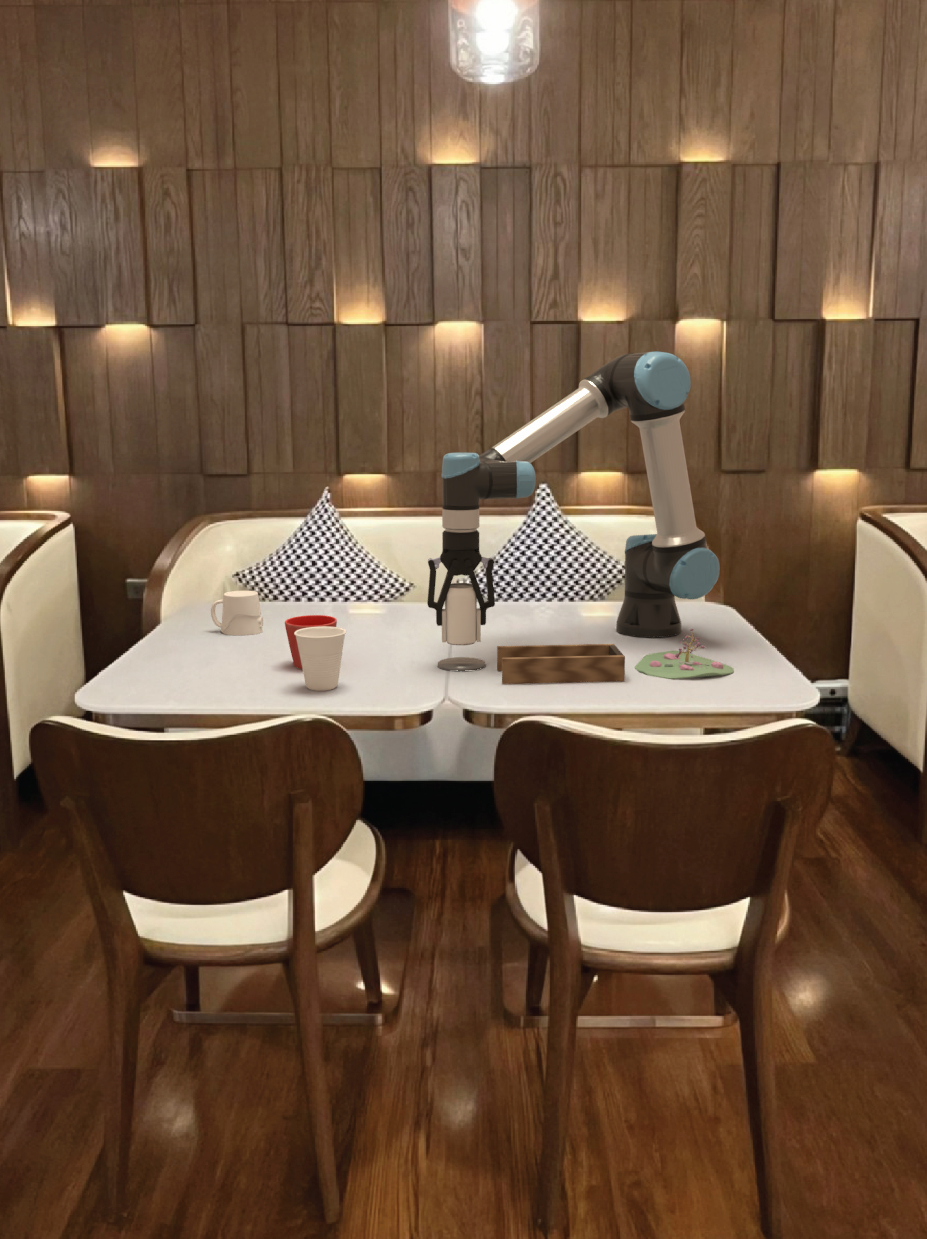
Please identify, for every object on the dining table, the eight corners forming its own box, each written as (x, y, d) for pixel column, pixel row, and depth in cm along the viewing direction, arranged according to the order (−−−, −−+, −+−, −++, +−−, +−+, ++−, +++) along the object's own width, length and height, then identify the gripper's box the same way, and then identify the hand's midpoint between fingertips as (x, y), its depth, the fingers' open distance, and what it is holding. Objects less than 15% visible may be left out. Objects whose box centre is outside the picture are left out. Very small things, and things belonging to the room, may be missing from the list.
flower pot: (297, 674, 233) (295, 627, 231) (279, 663, 242) (277, 617, 240) (346, 668, 237) (344, 621, 236) (326, 657, 247) (325, 612, 245)
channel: (613, 667, 236) (613, 643, 235) (624, 681, 225) (624, 656, 224) (497, 669, 235) (497, 646, 234) (502, 684, 224) (502, 659, 223)
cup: (297, 681, 227) (295, 626, 225) (348, 680, 228) (346, 625, 225) (294, 694, 217) (292, 637, 215) (347, 693, 218) (345, 636, 216)
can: (470, 646, 234) (470, 588, 232) (440, 644, 236) (440, 586, 234) (481, 640, 240) (481, 583, 238) (452, 638, 242) (451, 581, 240)
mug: (264, 590, 275) (256, 596, 267) (266, 628, 276) (258, 635, 269) (215, 590, 275) (205, 596, 267) (217, 628, 277) (207, 635, 269)
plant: (613, 656, 249) (614, 615, 247) (703, 651, 252) (705, 611, 251) (653, 685, 225) (654, 640, 223) (752, 679, 228) (754, 635, 226)
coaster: (483, 659, 244) (483, 656, 244) (487, 670, 234) (487, 668, 234) (436, 660, 243) (436, 657, 243) (438, 671, 234) (438, 669, 233)
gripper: (506, 527, 237) (506, 636, 242) (412, 527, 236) (413, 637, 241) (510, 531, 230) (509, 643, 235) (413, 532, 229) (414, 645, 233)
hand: (461, 640), depth 238 cm, fingers closed on can, 6 cm apart
